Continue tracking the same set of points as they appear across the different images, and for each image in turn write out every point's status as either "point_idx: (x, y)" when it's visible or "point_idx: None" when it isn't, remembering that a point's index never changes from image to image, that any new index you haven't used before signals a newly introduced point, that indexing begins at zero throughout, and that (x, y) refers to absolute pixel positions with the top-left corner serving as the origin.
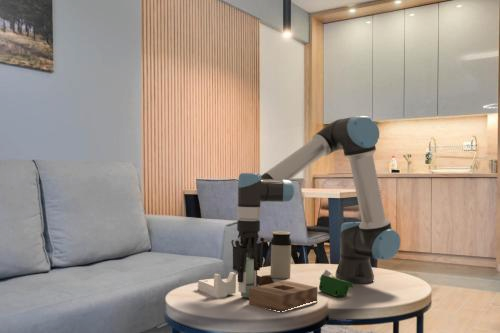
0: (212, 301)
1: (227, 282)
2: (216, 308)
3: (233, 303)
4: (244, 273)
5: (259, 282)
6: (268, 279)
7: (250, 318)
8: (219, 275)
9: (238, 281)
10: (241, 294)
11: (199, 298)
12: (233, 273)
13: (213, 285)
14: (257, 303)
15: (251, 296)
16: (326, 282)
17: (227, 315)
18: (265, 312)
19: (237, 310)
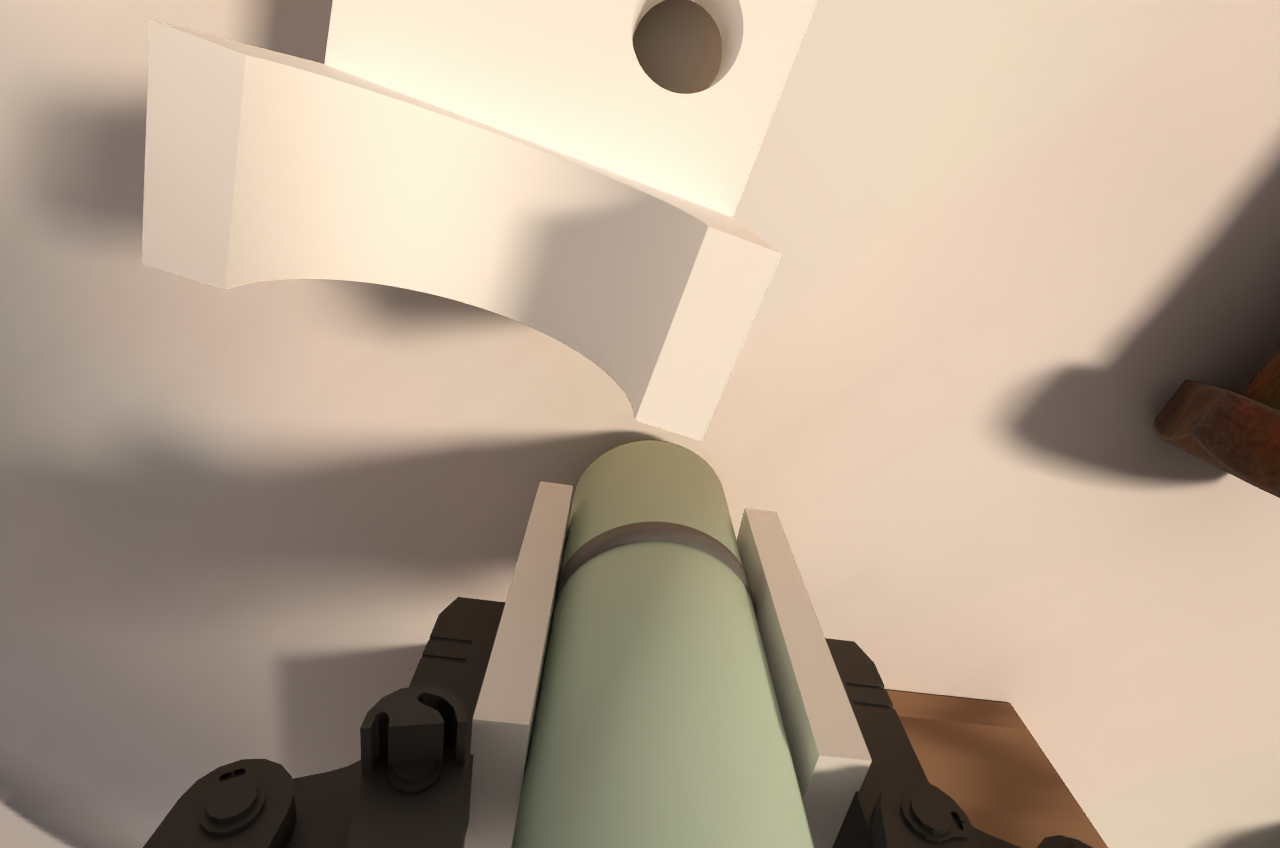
0: (179, 289)
1: (496, 309)
2: (39, 516)
3: (339, 524)
4: (468, 827)
5: (1233, 411)
6: None
7: (135, 843)
8: (192, 275)
9: (449, 617)
10: (580, 485)
11: (103, 8)
12: (645, 404)
13: (363, 13)
14: None
15: None
16: None
17: (7, 707)
18: None
19: (192, 682)
